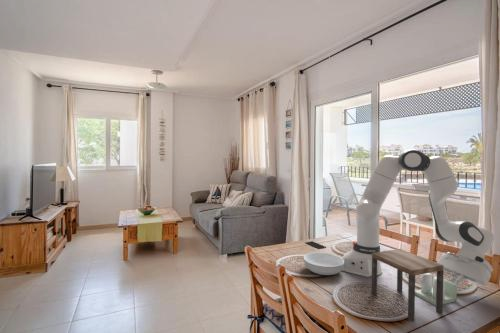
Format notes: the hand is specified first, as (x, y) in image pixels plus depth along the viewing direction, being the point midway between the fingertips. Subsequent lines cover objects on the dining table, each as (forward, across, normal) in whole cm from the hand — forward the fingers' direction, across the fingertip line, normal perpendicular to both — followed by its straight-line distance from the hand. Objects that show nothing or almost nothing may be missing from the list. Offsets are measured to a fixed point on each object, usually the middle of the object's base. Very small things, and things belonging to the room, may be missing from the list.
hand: (453, 282), depth 122 cm
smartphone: (+19, -78, -12) cm, 82 cm away
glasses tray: (+11, 0, -4) cm, 12 cm away
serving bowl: (+33, -39, -26) cm, 57 cm away
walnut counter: (+23, 0, -16) cm, 28 cm away
